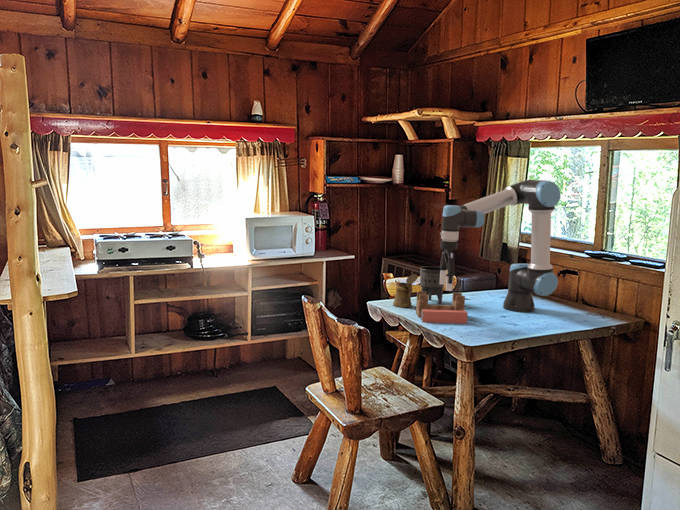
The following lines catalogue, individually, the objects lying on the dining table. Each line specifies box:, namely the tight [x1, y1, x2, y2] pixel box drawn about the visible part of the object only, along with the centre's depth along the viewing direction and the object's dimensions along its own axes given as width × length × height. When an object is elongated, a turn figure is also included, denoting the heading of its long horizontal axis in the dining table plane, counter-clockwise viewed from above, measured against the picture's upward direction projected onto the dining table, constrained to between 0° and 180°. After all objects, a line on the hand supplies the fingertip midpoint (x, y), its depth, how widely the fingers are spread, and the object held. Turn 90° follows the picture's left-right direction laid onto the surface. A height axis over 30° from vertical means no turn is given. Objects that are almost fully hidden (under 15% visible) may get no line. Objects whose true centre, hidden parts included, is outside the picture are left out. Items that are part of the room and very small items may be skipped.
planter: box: [419, 265, 445, 305], centre depth 303 cm, size 13×13×18 cm
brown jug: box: [392, 273, 419, 309], centre depth 291 cm, size 9×14×18 cm, turn 30°
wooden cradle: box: [415, 290, 466, 318], centre depth 277 cm, size 21×7×10 cm, turn 92°
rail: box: [420, 309, 468, 324], centre depth 267 cm, size 20×4×5 cm, turn 92°
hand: (445, 287), depth 265 cm, fingers open, 13 cm apart
